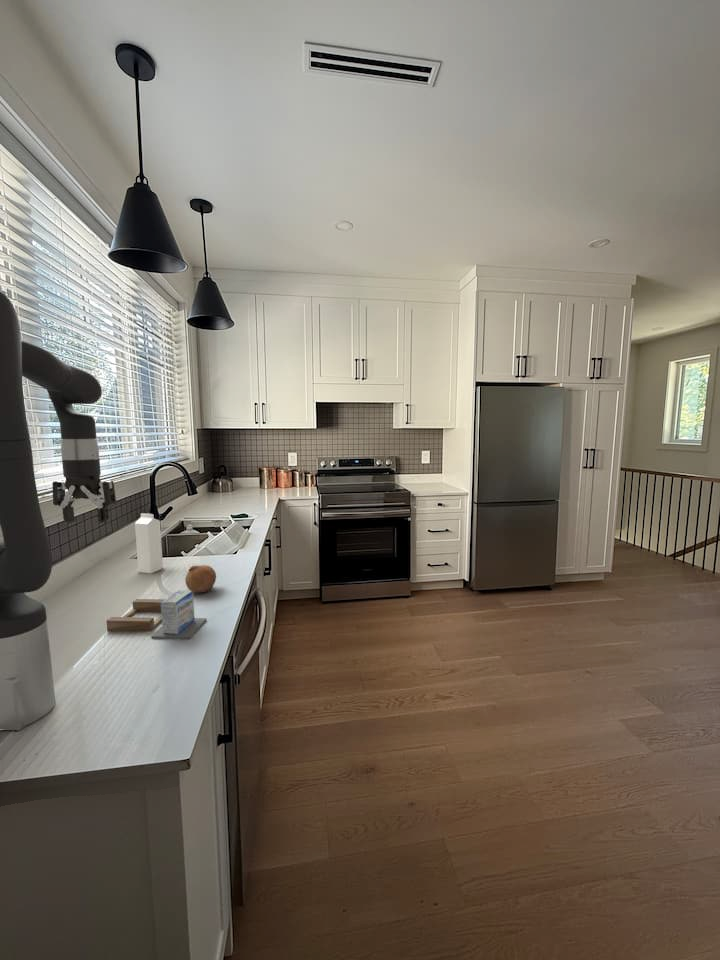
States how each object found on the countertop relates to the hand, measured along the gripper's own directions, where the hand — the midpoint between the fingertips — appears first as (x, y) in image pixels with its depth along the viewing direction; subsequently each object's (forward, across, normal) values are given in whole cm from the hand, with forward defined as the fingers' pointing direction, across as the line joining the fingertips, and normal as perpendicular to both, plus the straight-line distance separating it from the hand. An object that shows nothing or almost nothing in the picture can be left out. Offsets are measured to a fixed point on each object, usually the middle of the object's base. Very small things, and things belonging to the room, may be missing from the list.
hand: (86, 522), depth 98 cm
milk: (+30, -13, +48) cm, 58 cm away
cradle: (+30, +7, +9) cm, 32 cm away
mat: (+30, +20, +4) cm, 36 cm away
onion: (+30, +15, +29) cm, 45 cm away
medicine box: (+30, +20, +4) cm, 36 cm away
